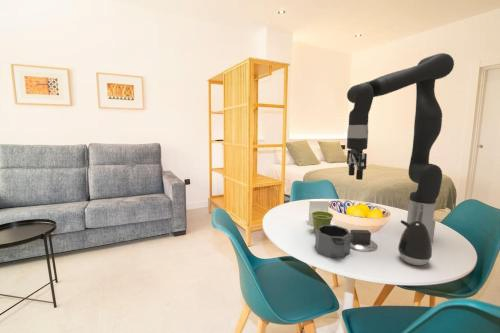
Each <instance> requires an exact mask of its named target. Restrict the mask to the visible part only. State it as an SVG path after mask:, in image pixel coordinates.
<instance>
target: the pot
mask: <svg viewBox="0 0 500 333" xmlns="http://www.w3.org/2000/svg"><path fill="white" fill-rule="evenodd" d="M350 245H351V231H349V229H348V228H345V227H343V226H338V225H335V224H334V225H333V224H330V225H329V224H324V225H322V226H320V227H318V228H316V233H315V241H314V248H315V251H316V252H317V254H319V255H320V256H321V255H322V256H323V257H326V258H328V259H345V258H346V257H348V256H349V255H350V254H351V249H350Z"/></svg>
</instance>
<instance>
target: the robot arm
mask: <svg viewBox="0 0 500 333" xmlns="http://www.w3.org/2000/svg"><path fill="white" fill-rule="evenodd" d="M454 61H455V60H454V58H453V57H452V55H450V54H448V53H444V52H443V53H437V54H434V55H430V56H428V57H425V58H422V59H421V60H419V62H418V63H417V65H415V66H412V67H408V68H404V69H401V70H397V71H394V72H391V73H387V74H384V75H381V76H379V77H376V78H374V79H372V80H369V81H365V82H362V83H359V84H356V85H352V87H350V88H349V89H348V90H347V93H346V98H347V99H348V101H349V102H350V103H352V104H353V109H351V110H350V112H349V115H348V128H347V134H346V135H347V136H346V137H347V138H346V148H347V149H348V150H347V155H346V157H347V158H346V164H347V166H348V176H355V179H356V180H359V181H361V180H363V177H364V170H366V169H367V160H368V159H367V156H368V154H367V153H366V152H365V153H364V152H363V151H364V150H367V149H368V144H369V143H368V141H369V114H370V110H371V109H372V108H371V107H372V104H373V102H374V101H373V100H374V98H375V97H381V96H384V95H385V96H386V95H388V94H390V93H393V92H396V91H399V90H402V89H404V88H407V87H409V86H412V85H414V84H416V85H415V87H416V89H415V91H416V94H415V95H416V97H415V115H414V125H413V126H414V127H413V137H412V138H413V140H412V149H411V156H410V161H409V166H408V177H409V179H410V180H411V182H413V183H415V184H417V189H416V191H412V192H410V194H409V200H408V209H407V217H406V218H407V219H406V222H407V223H409V224H410V223H411V222H413V221H419V222H422V223H423V224H424V225H425V226H426V227H427V229H428V232H429V235H430V238H431V244H432V243H433V242H434V236H435V228H436V220H435V219H434V217H435V211H436V210H435V208H436V203H437V202H436V201H437V199H438V197H439V195H440V192H441V187H442V183H443V182H442V180H443V171H442V169H441V167H440V166H439V165H436V164H433V163H430V153H431V149H432V147H433V145H434V144H435V142H436V141H437V139H438V137H439V136H440V133H441V131H442V125H443V124H442V123H443V111H442V108H441V106H440V104H439V102H438V100H437V98H436V92H435V84H436V80H439V79H442V78H445V77H447V76H448V75H450V74H451V73H452V71H453V69H454V65H455V62H454ZM355 168H356V169H355ZM355 170H356V172H355Z"/></svg>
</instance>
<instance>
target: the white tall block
mask: <svg viewBox="0 0 500 333" xmlns="http://www.w3.org/2000/svg"><path fill="white" fill-rule="evenodd" d="M329 202H330V201H329V200H328V199H318V198H317V199H309V205H308V224H309V225H310V226H312V227H314V222H313V216H312V212H315V211H324V212H329V205H330V204H329Z"/></svg>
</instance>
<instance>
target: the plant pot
mask: <svg viewBox="0 0 500 333" xmlns="http://www.w3.org/2000/svg"><path fill="white" fill-rule="evenodd" d="M312 216H313V222H314V226H313V231H314V233H315V234H316V228H318V227H320V226H322V225H324V224H329V225H331V222H332V219H333V218H334V215H333V214H332V213H331V212H329V211H328V212H324V211H315V212H312Z"/></svg>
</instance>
